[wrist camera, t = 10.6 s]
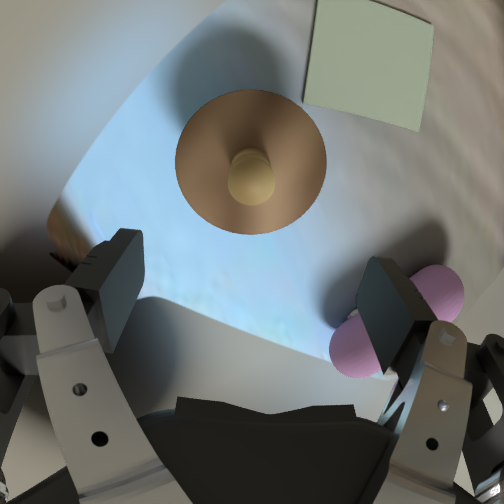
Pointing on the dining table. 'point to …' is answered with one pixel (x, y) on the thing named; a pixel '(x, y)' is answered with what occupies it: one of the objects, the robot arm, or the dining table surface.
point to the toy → (356, 337)
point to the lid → (250, 162)
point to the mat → (369, 61)
